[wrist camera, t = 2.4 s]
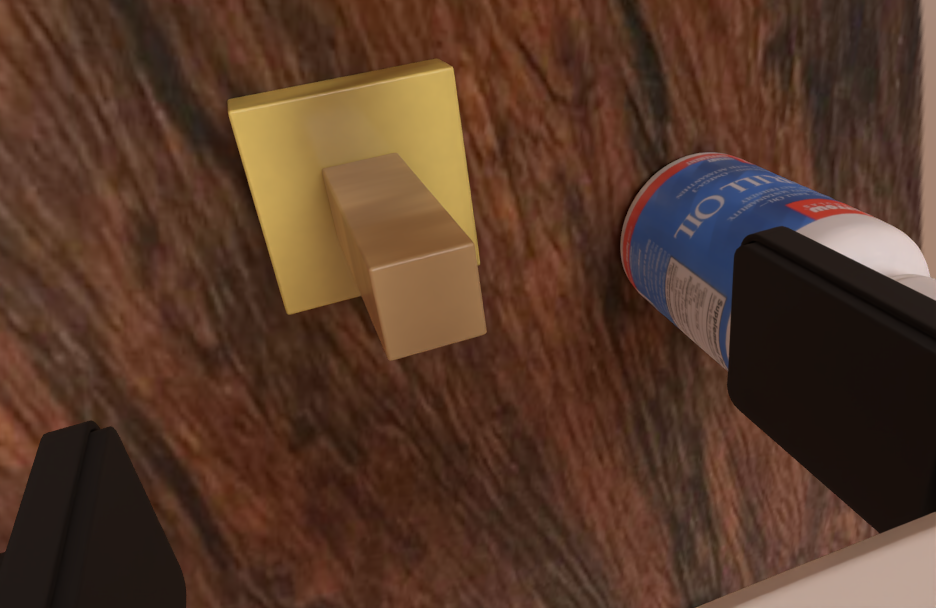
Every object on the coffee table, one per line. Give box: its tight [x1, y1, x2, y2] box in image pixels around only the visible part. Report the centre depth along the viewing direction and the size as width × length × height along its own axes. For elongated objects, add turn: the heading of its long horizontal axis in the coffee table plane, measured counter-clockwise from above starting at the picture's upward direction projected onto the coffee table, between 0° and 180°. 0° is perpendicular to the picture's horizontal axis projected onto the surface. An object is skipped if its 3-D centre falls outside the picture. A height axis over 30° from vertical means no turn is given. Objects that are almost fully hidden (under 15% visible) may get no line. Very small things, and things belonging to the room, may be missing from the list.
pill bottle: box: [620, 152, 936, 371], centre depth 20 cm, size 6×5×10 cm
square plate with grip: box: [227, 59, 487, 361], centre depth 17 cm, size 6×6×8 cm
